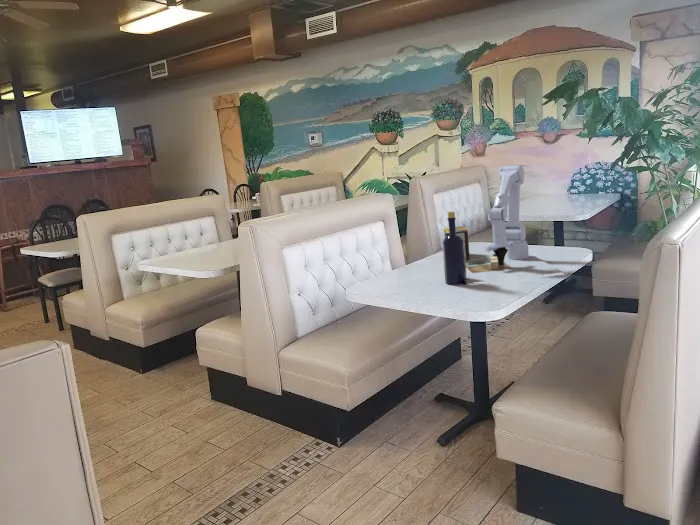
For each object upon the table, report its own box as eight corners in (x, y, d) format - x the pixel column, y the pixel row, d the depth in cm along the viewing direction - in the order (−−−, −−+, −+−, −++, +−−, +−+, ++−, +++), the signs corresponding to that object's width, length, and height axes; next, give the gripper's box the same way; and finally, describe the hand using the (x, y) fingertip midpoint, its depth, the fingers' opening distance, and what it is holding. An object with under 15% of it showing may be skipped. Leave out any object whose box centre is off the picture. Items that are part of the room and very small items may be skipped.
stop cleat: (485, 262, 261) (484, 258, 261) (485, 263, 260) (485, 258, 260) (468, 264, 261) (467, 260, 261) (468, 264, 260) (468, 260, 260)
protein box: (466, 255, 286) (464, 225, 283) (470, 262, 271) (468, 230, 268) (446, 257, 287) (443, 227, 284) (448, 264, 272) (445, 232, 269)
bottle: (467, 284, 232) (462, 212, 225) (444, 285, 234) (439, 214, 227) (467, 278, 240) (462, 209, 234) (445, 280, 242) (440, 211, 236)
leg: (492, 262, 260) (491, 254, 259) (498, 261, 259) (498, 253, 258) (491, 269, 246) (490, 261, 245) (498, 269, 245) (497, 260, 244)
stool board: (501, 262, 263) (501, 260, 262) (513, 271, 245) (513, 268, 245) (463, 267, 262) (463, 264, 262) (472, 275, 245) (472, 272, 245)
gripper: (506, 231, 253) (507, 260, 255) (480, 236, 247) (482, 266, 250) (517, 232, 247) (518, 262, 249) (490, 237, 241) (492, 268, 243)
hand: (501, 264), depth 249 cm, fingers closed, pressing on leg
